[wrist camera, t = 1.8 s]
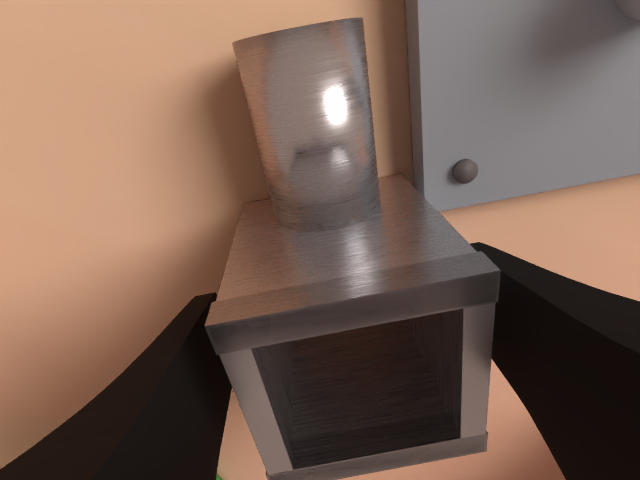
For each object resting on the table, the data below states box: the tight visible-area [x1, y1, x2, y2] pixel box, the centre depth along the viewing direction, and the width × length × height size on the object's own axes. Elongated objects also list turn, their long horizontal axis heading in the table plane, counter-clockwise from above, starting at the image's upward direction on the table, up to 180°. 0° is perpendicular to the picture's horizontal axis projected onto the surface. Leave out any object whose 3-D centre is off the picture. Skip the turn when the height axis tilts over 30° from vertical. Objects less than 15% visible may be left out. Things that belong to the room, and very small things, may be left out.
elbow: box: [205, 18, 501, 480], centre depth 9 cm, size 10×5×6 cm, turn 10°
